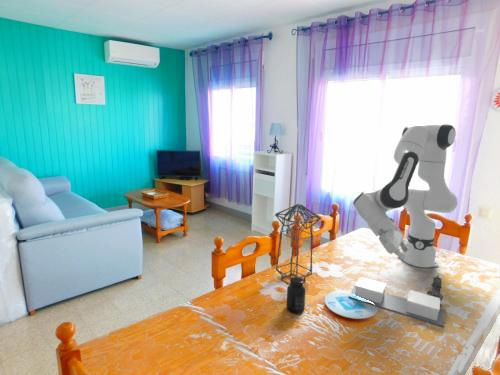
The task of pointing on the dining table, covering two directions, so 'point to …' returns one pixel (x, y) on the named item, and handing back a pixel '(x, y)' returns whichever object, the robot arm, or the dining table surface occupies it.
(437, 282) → the dark grey upright figurine
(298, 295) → the supplement bottle
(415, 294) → the grey mounting plate
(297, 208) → the geometric lantern
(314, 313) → the dining table surface
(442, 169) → the robot arm
